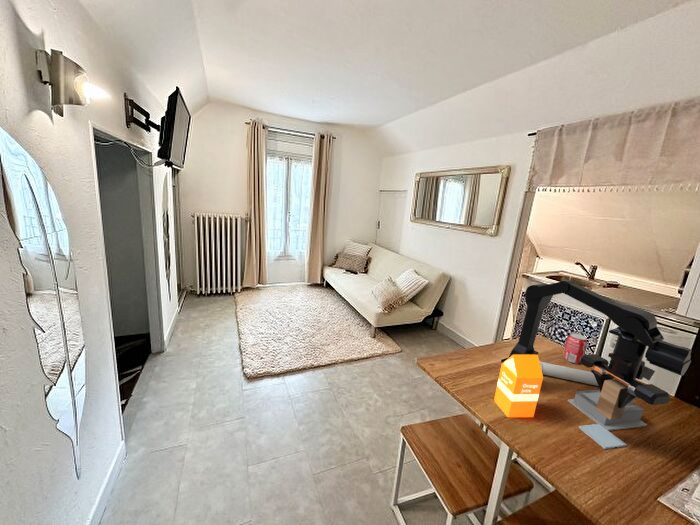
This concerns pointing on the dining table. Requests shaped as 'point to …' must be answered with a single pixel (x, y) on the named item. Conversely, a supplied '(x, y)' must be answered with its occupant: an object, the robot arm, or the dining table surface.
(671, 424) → the dining table surface
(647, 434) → the dining table surface
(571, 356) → the soda can
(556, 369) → the tube
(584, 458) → the dining table surface
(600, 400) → the light wood cuboid
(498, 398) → the orange juice
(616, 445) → the mat
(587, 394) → the grey hollow block
